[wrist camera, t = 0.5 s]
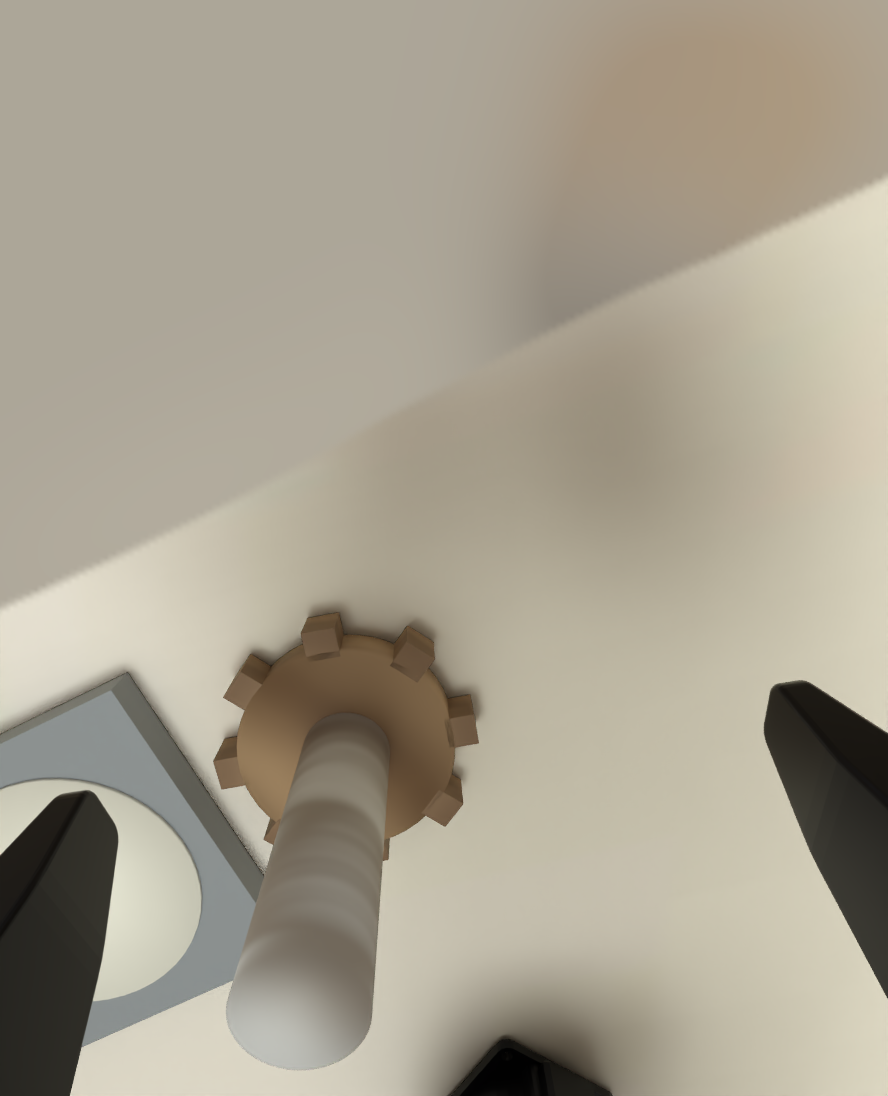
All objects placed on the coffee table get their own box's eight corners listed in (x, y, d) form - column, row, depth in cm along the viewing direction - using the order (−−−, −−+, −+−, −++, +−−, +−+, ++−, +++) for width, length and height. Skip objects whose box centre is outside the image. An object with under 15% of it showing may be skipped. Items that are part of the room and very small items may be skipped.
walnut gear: (385, 876, 30) (362, 1232, 18) (178, 761, 28) (-4, 1066, 16) (523, 699, 28) (605, 959, 16) (310, 564, 26) (220, 739, 14)
